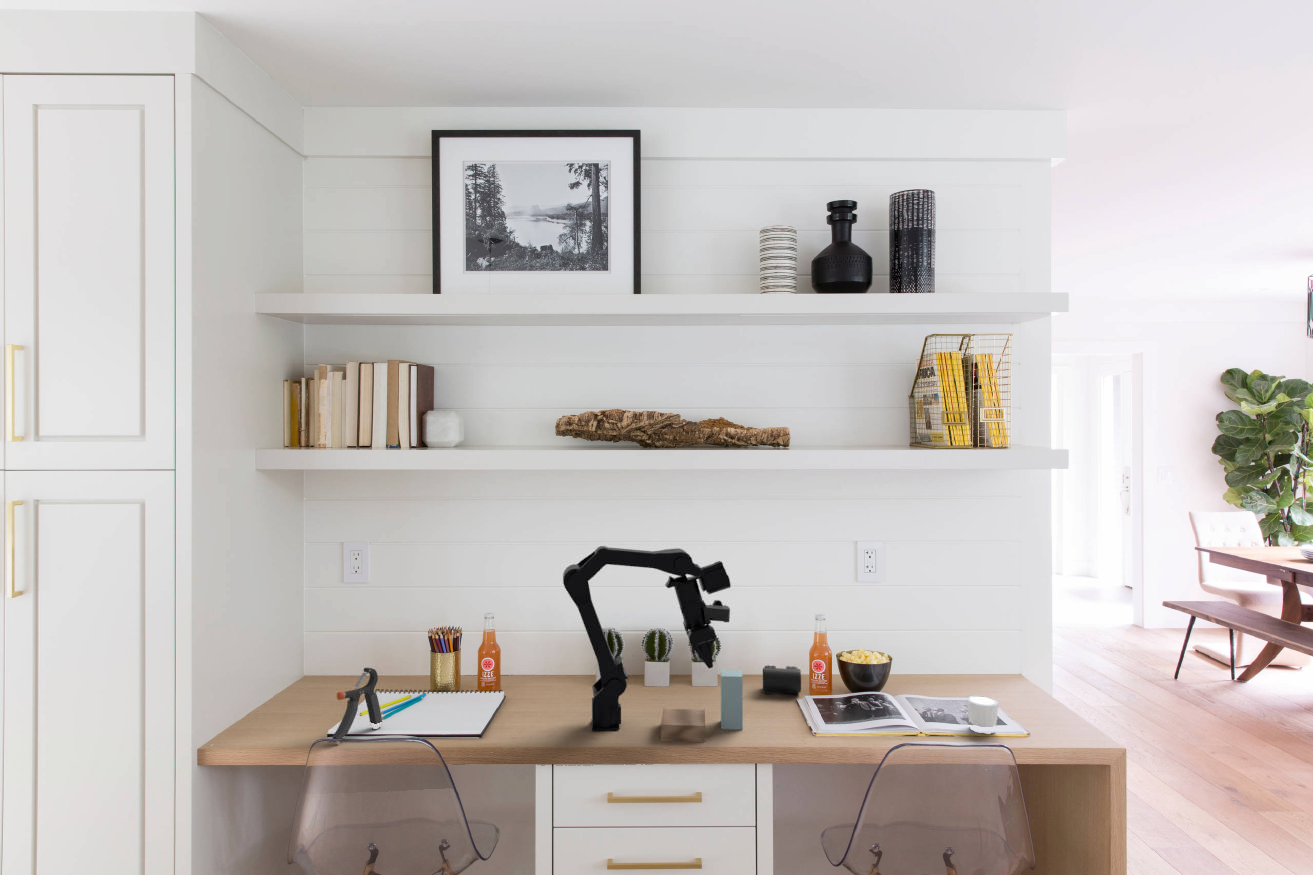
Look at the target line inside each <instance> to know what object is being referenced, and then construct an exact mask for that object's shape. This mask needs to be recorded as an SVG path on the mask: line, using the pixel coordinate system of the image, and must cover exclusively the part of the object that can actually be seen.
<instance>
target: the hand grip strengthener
mask: <svg viewBox="0 0 1313 875" xmlns="http://www.w3.org/2000/svg"><path fill="white" fill-rule="evenodd" d="M367 674H369V679H368V682H367V683H366V684H365V685H364V686H362V684H363V682H364V681H365V679H366V677H367ZM378 681H379V675H378V672H377V670H376V669H375V668H372V667H364V668H363V672H362V674H361V675H360V677H359V679H358V681H357V682H356V684H355V689H352V690H347V691H339V692H337V693H336V698H337V700H338V701H339V700H340V701H342V700H345V699H348V700H347V704H346V710H345V713H344V715H343V717H342V719H341V721H340V723H339V725H338V727H337V729H336V731H335V732H334V733H333V735H332V737H331V738H332V739H343V737H344V736H345V735H346V734H347V735H348V733H349V732H350V730H351V727H352V725H353V723H354V721H355V718H356V716H357V712H358V710H359V702H360V698H361V695H362V694H364V699H365V703H366V708H367V713H368V718H369V723H370V722H371V723H374V724H377V723H380V722H382V723H383V718H382V711H381V706H380V702H379V697H378V694H377V693H376V692H375V688H376V685H377V683H378ZM361 686H362V687H361ZM347 735H346V736H347ZM343 740H344V739H343Z"/></svg>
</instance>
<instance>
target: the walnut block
mask: <svg viewBox="0 0 1313 875" xmlns="http://www.w3.org/2000/svg"><path fill="white" fill-rule="evenodd" d="M660 741H661V742H689V743H690V742H692V743H693V742H696V743H697V742H699V743H700V742H701V743H705V742H706V709H701V708H700V709H697V708H696V709H695V708H694V709H693V708H690V709H689V708H663V709H662V715H661V723H660Z"/></svg>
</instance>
